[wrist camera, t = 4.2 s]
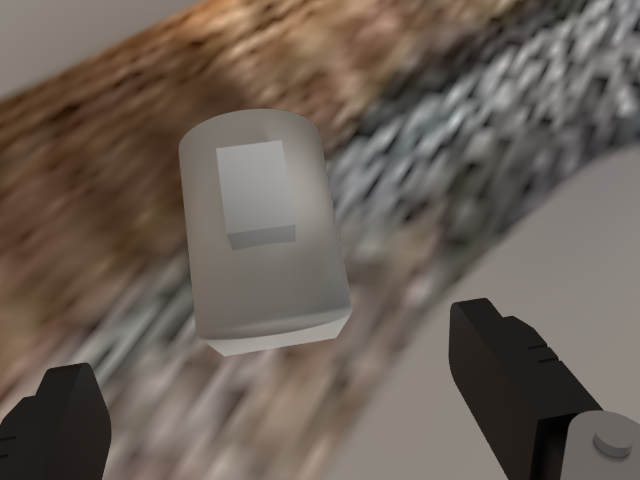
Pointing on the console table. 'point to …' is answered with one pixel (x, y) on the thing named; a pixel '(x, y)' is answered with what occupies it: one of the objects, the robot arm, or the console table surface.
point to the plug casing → (261, 232)
